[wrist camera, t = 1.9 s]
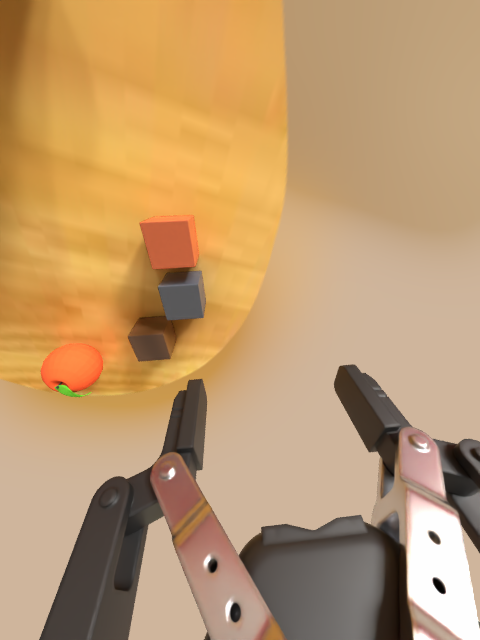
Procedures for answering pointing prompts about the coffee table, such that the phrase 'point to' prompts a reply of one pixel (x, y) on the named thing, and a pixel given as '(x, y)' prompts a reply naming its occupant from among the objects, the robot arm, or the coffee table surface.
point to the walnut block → (153, 338)
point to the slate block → (183, 295)
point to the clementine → (71, 368)
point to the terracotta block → (171, 241)
